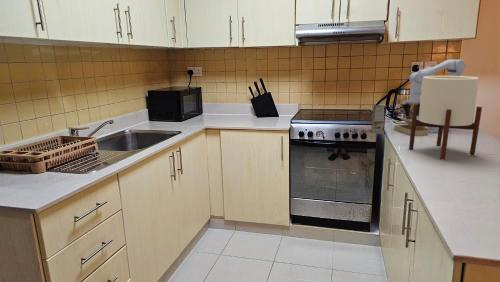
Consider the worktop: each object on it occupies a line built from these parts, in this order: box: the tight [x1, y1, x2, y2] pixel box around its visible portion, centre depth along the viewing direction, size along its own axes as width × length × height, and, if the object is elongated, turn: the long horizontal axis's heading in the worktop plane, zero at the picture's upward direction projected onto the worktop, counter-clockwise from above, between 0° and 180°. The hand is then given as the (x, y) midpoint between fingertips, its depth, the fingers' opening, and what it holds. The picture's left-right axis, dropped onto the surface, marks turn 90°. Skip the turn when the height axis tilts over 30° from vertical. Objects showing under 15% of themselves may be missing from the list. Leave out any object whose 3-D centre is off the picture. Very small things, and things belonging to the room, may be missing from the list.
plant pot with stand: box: [408, 75, 483, 160], centre depth 162 cm, size 22×22×36 cm
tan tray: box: [393, 123, 429, 137], centre depth 207 cm, size 10×18×3 cm, turn 11°
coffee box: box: [371, 104, 387, 135], centre depth 208 cm, size 9×6×16 cm
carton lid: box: [396, 112, 429, 130], centre depth 206 cm, size 10×18×5 cm
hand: (412, 115), depth 205 cm, fingers open, 7 cm apart
